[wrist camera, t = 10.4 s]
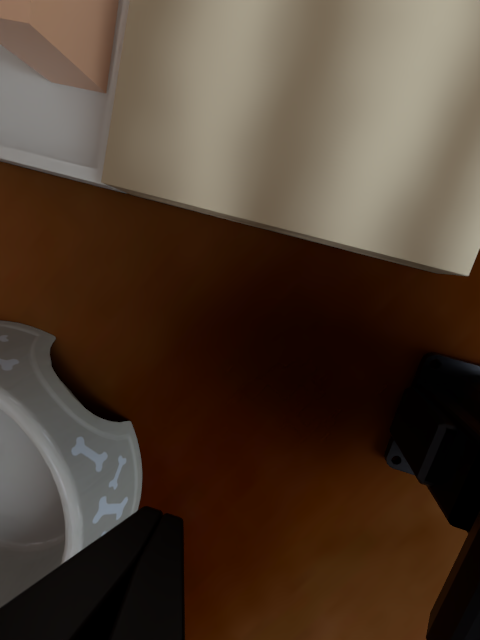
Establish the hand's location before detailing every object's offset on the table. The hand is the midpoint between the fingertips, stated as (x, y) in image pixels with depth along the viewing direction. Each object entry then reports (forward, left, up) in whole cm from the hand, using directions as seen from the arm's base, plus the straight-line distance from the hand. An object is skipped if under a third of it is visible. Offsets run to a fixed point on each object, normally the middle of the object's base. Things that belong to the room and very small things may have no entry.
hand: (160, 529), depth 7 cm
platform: (0, -14, -12) cm, 18 cm away
